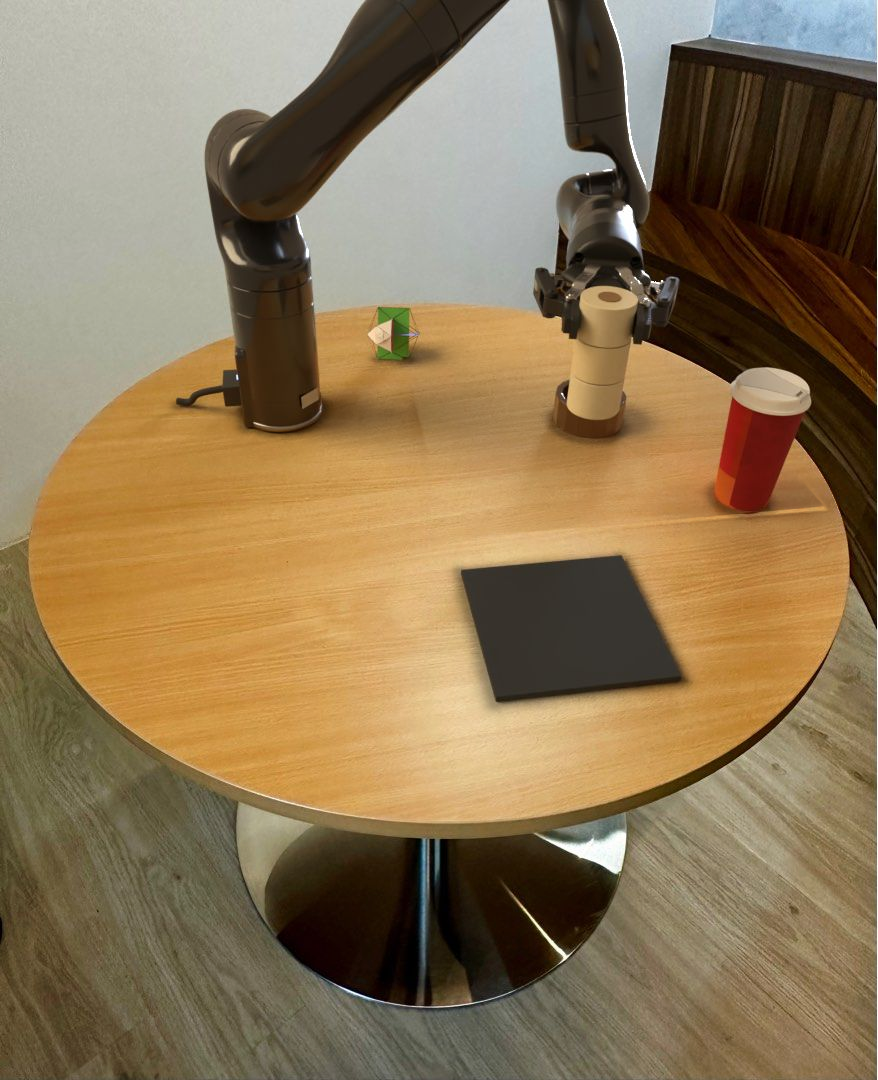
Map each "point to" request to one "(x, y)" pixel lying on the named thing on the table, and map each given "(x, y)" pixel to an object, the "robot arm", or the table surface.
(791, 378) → the paper cup
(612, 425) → the ring
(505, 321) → the table surface
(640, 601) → the rubber mat
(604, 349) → the tape stack
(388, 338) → the geometric puzzle
